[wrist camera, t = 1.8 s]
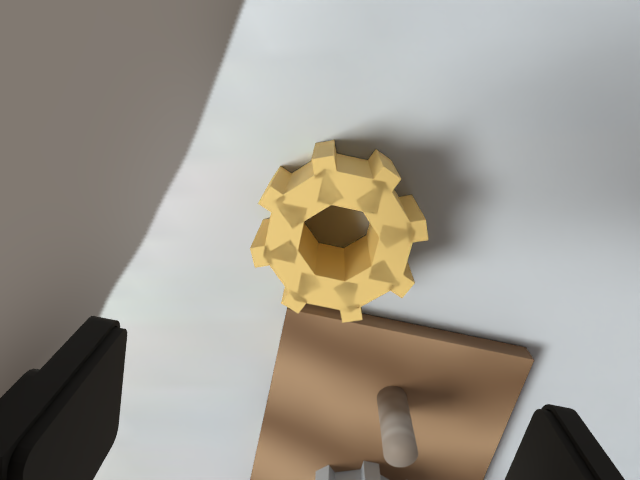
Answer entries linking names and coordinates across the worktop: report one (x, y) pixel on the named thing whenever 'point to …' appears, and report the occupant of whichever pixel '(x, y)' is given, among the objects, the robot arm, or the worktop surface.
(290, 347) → the gear board
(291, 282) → the ochre gear
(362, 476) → the slate gear
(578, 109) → the worktop surface
